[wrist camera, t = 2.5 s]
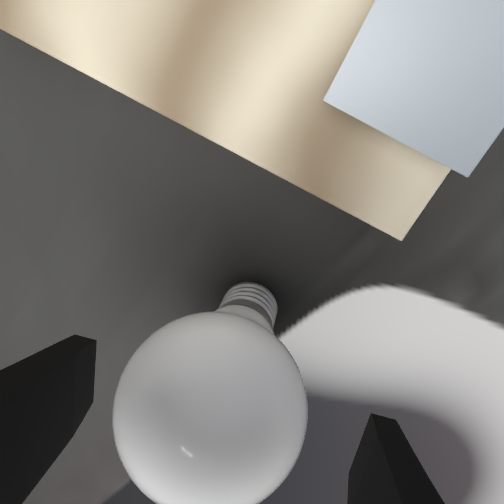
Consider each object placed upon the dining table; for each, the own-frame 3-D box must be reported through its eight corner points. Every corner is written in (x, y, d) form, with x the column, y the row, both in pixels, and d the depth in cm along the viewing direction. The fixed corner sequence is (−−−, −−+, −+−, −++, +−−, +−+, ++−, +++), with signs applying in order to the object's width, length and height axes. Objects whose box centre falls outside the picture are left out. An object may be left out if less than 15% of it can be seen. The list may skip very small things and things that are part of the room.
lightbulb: (323, 352, 22) (313, 577, 12) (204, 357, 24) (107, 563, 14) (308, 234, 20) (281, 386, 10) (178, 247, 22) (41, 393, 12)
